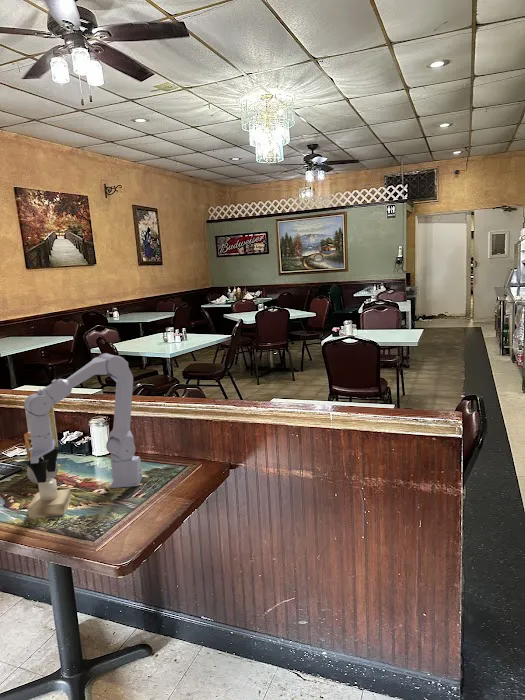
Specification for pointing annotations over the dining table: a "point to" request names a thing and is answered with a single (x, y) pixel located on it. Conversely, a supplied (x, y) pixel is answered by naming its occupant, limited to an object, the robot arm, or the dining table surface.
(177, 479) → the dining table surface
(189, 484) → the dining table surface
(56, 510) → the block
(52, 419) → the juice carton
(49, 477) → the donut
